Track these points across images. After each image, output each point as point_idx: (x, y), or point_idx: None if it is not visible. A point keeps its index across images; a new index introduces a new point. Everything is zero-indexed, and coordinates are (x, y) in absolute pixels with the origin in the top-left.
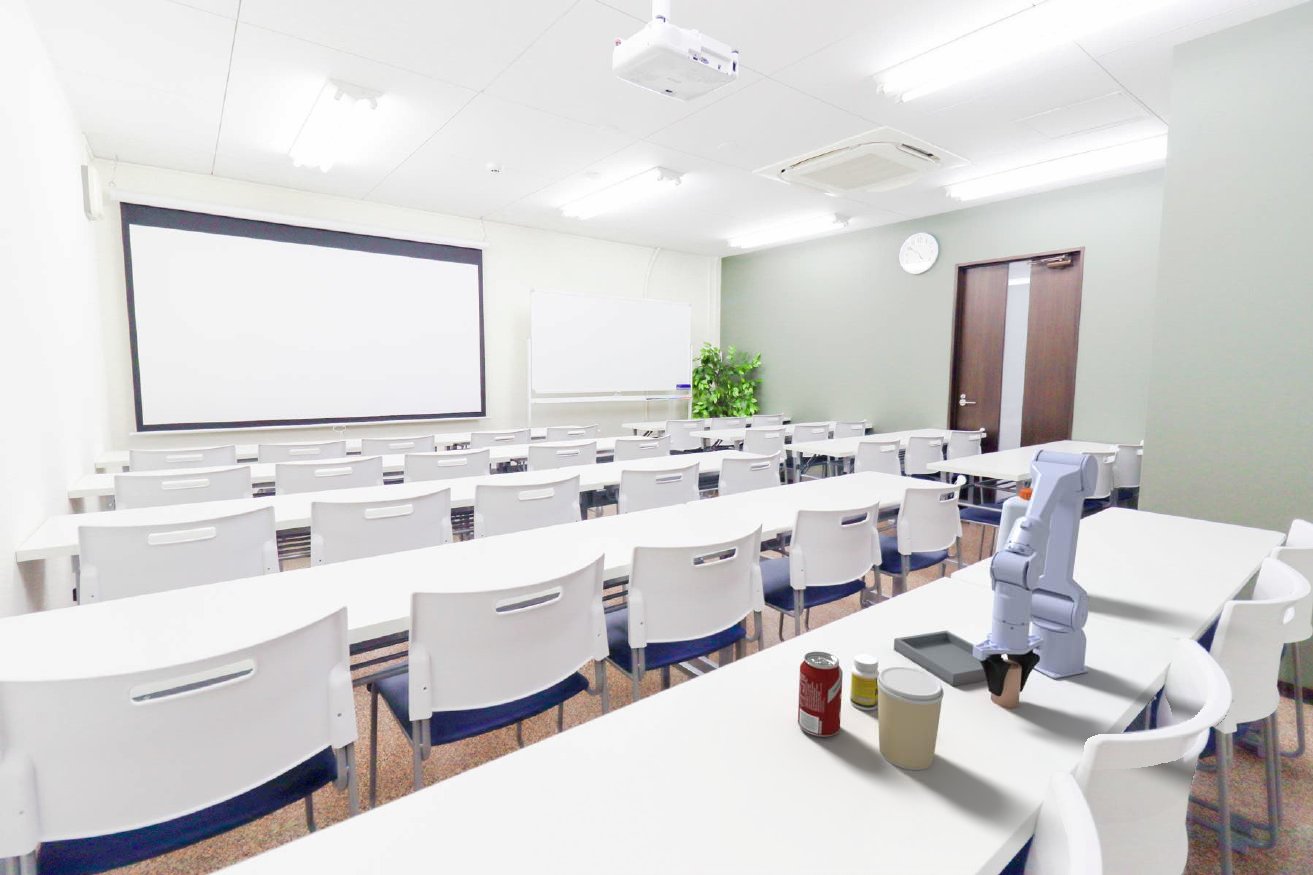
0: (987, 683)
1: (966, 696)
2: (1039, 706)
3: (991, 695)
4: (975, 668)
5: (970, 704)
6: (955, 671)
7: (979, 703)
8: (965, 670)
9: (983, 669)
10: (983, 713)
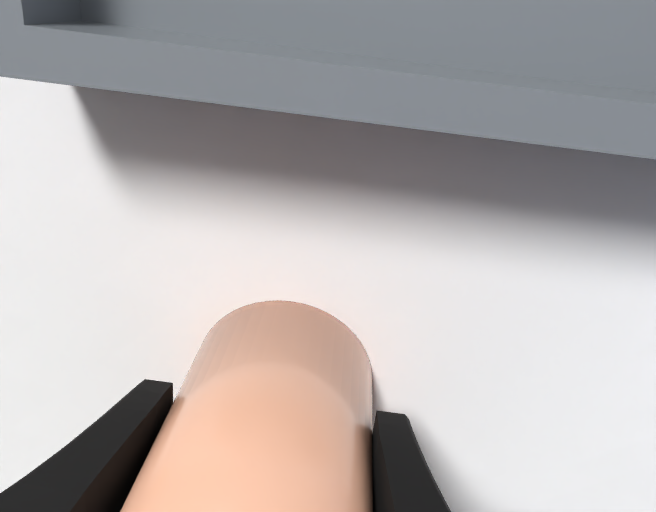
0: (108, 411)
1: (64, 224)
2: (440, 489)
3: (204, 345)
4: (363, 85)
5: (14, 304)
6: (57, 33)
7: (88, 321)
8: (196, 71)
9: (450, 129)
10: (23, 397)
